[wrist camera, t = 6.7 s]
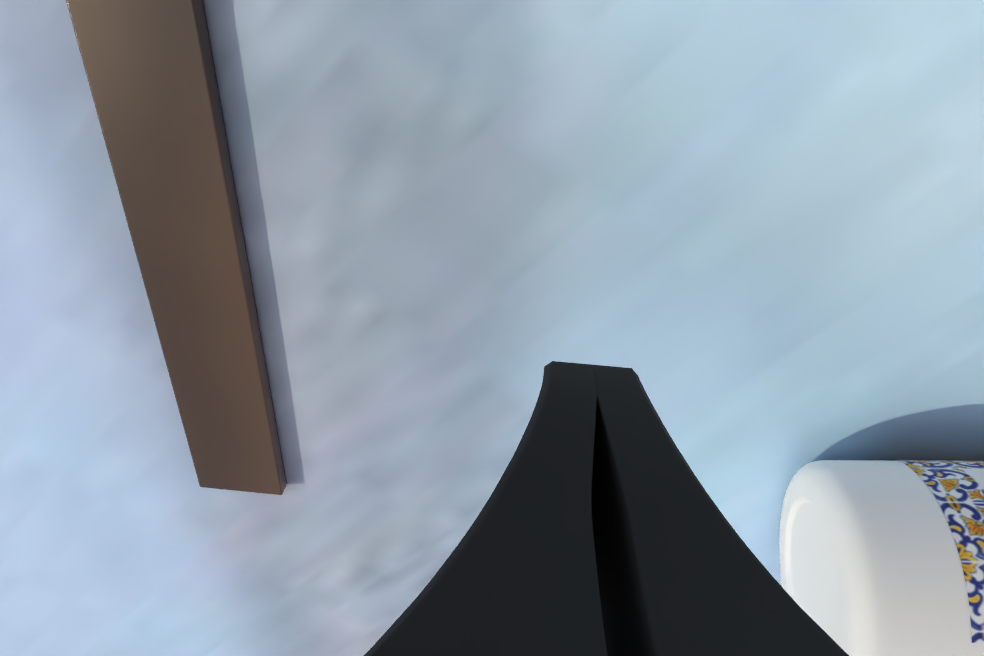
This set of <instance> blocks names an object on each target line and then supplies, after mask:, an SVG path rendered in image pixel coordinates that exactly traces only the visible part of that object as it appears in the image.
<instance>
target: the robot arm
mask: <svg viewBox="0 0 984 656" xmlns="http://www.w3.org/2000/svg"><path fill="white" fill-rule="evenodd" d="M364 656H849V655H848V654H847V653H846V652H845V651H844V650H843V649H842V648H841V647H840V646H839V645H838V644H837V643H836V642H835V641H834V640H833V639H832V638H831V637H830V636H829V635H828V634H827V633H826V632H825V631H824V630H823V629H822V628H821V627H820V626H819V625H818V624H817V623H816V622H815V621H814V620H813V619H812V618H811V617H810V616H809V615H808V614H807V613H806V612H805V611H804V610H803V609H802V608H801V607H800V606H799V605H798V604H797V603H796V602H795V601H794V600H793V599H792V597H791V596H790V595H789V594H788V593H787V592H786V591H785V590H784V589H783V588H782V586H781V585H780V584H779V583H778V582H777V581H776V580H775V579H774V578H773V576H772V575H771V574H770V573H769V572H768V571H767V569H766V568H765V567H764V566H763V565H762V563H761V562H760V561H759V560H758V559H757V558H756V556H755V555H754V554H753V553H752V552H751V550H750V549H749V548H748V547H747V546H746V544H745V543H744V542H743V541H742V539H741V538H740V537H739V536H738V534H737V533H736V532H735V530H734V529H733V528H732V526H731V525H730V524H729V523H728V521H727V520H726V519H725V517H724V516H723V514H722V513H721V512H720V510H719V509H718V508H717V506H716V505H715V503H714V502H713V501H712V499H711V498H710V497H709V495H708V494H707V492H706V491H705V489H704V488H703V486H702V485H701V484H700V482H699V481H698V479H697V478H696V476H695V475H694V473H693V472H692V470H691V468H690V467H689V465H688V464H687V462H686V461H685V459H684V457H683V456H682V454H681V453H680V451H679V450H678V448H677V447H676V445H675V443H674V442H673V440H672V438H671V437H670V435H669V433H668V432H667V430H666V428H665V426H664V425H663V423H662V421H661V419H660V418H659V416H658V414H657V412H656V411H655V409H654V407H653V405H652V403H651V401H650V399H649V397H648V396H647V394H646V392H645V390H644V388H643V386H642V384H641V382H640V380H639V377H638V375H637V374H636V373H635V372H634V370H633V369H632V368H622V367H611V366H600V365H589V364H577V363H566V362H555V361H552V362H551V363H549V364H548V365H546V366H545V367H544V376H543V383H542V387H541V391H540V394H539V398H538V401H537V403H536V406H535V409H534V411H533V414H532V417H531V419H530V421H529V424H528V426H527V428H526V430H525V432H524V434H523V437H522V439H521V441H520V443H519V445H518V448H517V450H516V452H515V454H514V456H513V458H512V459H511V461H510V463H509V465H508V466H507V468H506V470H505V472H504V474H503V475H502V477H501V479H500V481H499V483H498V484H497V486H496V488H495V490H494V491H493V493H492V495H491V496H490V498H489V500H488V501H487V503H486V504H485V506H484V508H483V509H482V511H481V512H480V514H479V515H478V517H477V518H476V520H475V521H474V523H473V524H472V526H471V527H470V529H469V530H468V532H467V533H466V534H465V536H464V537H463V539H462V540H461V542H460V543H459V544H458V546H457V547H456V548H455V550H454V551H453V552H452V554H451V555H450V556H449V558H448V559H447V560H446V562H445V563H444V564H443V565H442V567H441V568H440V569H439V571H438V572H437V573H436V575H435V576H434V577H433V578H432V580H431V581H430V582H429V583H428V585H427V586H426V587H425V588H424V590H423V591H422V592H421V593H420V594H419V596H418V597H417V598H416V599H415V600H414V601H413V602H412V604H411V605H410V606H409V607H408V608H407V609H406V610H405V611H404V612H403V614H402V615H401V616H400V617H399V618H398V619H397V620H396V621H395V622H394V624H393V625H392V626H391V627H390V628H389V629H388V630H387V631H386V632H385V634H384V635H383V636H382V637H381V638H380V639H379V640H378V641H377V642H376V644H375V645H374V646H373V647H372V648H371V649H370V650H369V651H368V652H367V653H366V654H365V655H364Z"/></svg>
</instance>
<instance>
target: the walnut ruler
mask: <svg viewBox="0 0 984 656" xmlns="http://www.w3.org/2000/svg"><path fill="white" fill-rule="evenodd" d="M66 2H67V5H68V9H69V12H70V16H71V20H72V23H73V27H74V31H75V34H76V38H77V42H78V45H79V49H80V52H81V56H82V60H83V63H84V67H85V71H86V74H87V78H88V81H89V85H90V89H91V92H92V96H93V100H94V103H95V107H96V111H97V114H98V118H99V121H100V125H101V129H102V132H103V136H104V140H105V143H106V147H107V150H108V154H109V158H110V161H111V165H112V169H113V172H114V176H115V179H116V183H117V187H118V190H119V194H120V198H121V201H122V205H123V209H124V212H125V216H126V219H127V223H128V227H129V230H130V234H131V238H132V241H133V245H134V248H135V252H136V256H137V259H138V263H139V267H140V270H141V274H142V278H143V281H144V285H145V288H146V292H147V296H148V299H149V303H150V307H151V310H152V314H153V317H154V321H155V325H156V328H157V332H158V336H159V339H160V343H161V347H162V350H163V354H164V357H165V361H166V365H167V368H168V372H169V376H170V379H171V383H172V386H173V390H174V394H175V397H176V401H177V405H178V408H179V412H180V416H181V419H182V423H183V426H184V430H185V434H186V437H187V441H188V445H189V448H190V452H191V455H192V459H193V463H194V466H195V470H196V474H197V477H198V481H199V485H200V487H206V488H217V489H227V490H237V491H247V492H257V493H267V494H277V495H282V494H283V491H284V489H285V487H286V481H285V475H284V469H283V464H282V458H281V452H280V446H279V441H278V435H277V429H276V423H275V417H274V412H273V406H272V400H271V394H270V389H269V383H268V377H267V371H266V366H265V360H264V354H263V348H262V342H261V337H260V331H259V325H258V319H257V314H256V308H255V302H254V296H253V291H252V285H251V279H250V273H249V267H248V262H247V256H246V250H245V244H244V239H243V233H242V227H241V221H240V216H239V210H238V204H237V198H236V193H235V187H234V181H233V175H232V169H231V164H230V158H229V152H228V146H227V141H226V135H225V129H224V123H223V118H222V112H221V106H220V100H219V94H218V89H217V83H216V77H215V71H214V66H213V60H212V54H211V48H210V43H209V37H208V31H207V25H206V19H205V14H204V8H203V2H202V0H66Z"/></svg>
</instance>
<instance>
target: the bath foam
mask: <svg viewBox="0 0 984 656" xmlns="http://www.w3.org/2000/svg"><path fill="white" fill-rule="evenodd" d="M779 550H780V570H781V581H782V588H783V589H784V590H785V591H786V592H787V593H788V594H789V595H790V596H791V597H792V599H793V600H794V601H795V602H796V603H797V604H798V605H799V606H800V607H801V608H802V609H803V610H804V611H805V612H806V613H807V614H808V615H809V616H810V617H811V618H812V619H813V620H814V621H815V622H816V623H817V624H818V625H819V626H820V627H821V628H822V629H823V630H824V631H825V632H826V633H827V634H828V635H829V636H830V637H831V638H832V639H833V640H834V641H835V642H836V643H837V644H838V645H839V646H840V647H841V648H842V649H843V650H844V651H845V652H846V653H847V654H848V655H849V656H984V461H955V460H819V461H813V462H810V463H808V464H806V465H804V466H802V467H801V468H800V469H799V470H798V471H797V472H796V473H795V474H794V476H793V477H792V479H791V481H790V483H789V485H788V488H787V490H786V494H785V497H784V501H783V506H782V513H781V521H780V540H779Z"/></svg>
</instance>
